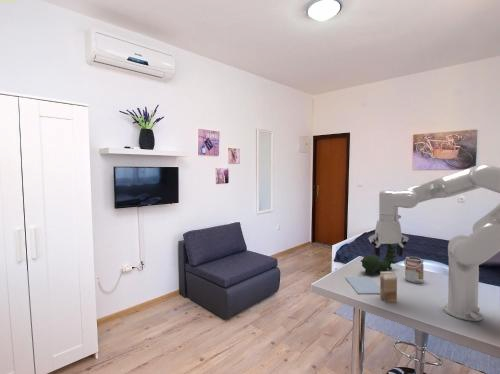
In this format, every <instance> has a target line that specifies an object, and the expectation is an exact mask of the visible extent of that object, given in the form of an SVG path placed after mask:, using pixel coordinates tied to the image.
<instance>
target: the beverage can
mask: <svg viewBox="0 0 500 374" xmlns="http://www.w3.org/2000/svg"><path fill="white" fill-rule="evenodd" d="M403 263H404V266H405V280H406V281H408V282H409V283H411V284H422V283H423V282H424V259H422V258H420V257H417V256H406V257H405V260H404V262H403Z"/></svg>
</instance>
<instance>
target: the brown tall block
mask: <svg viewBox="0 0 500 374" xmlns="http://www.w3.org/2000/svg"><path fill="white" fill-rule="evenodd" d="M379 274H380V280H379V281H380V286H379V287H380V294H379V295H380V299H381V300H382V301H384V302H385V303H397V302H398V301H397V300H398V292H397V291H398V275H397V274H396V273H394V272H393V271H388V272H384V271H383V272H380V273H379Z"/></svg>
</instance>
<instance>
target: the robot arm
mask: <svg viewBox="0 0 500 374" xmlns="http://www.w3.org/2000/svg"><path fill="white" fill-rule="evenodd" d="M481 188H483V189H485V190H488V191H491V192H493V193H498V194H500V167H498V166H496V165H495V166H494V165H490V164H479V165H478V164H477V165H475V166H472V167H468V168H465V169H462V170H460V171H457V172H456V171H455V172H454V173H450V174H447V175H445V176H441V177H438V178H435V179H433V180H431V181H429V182H428V181H427V182H424V183H422V184H419V185H415V186H412V187H409V188H407V189H403V190H401V191H397V190H387V189H385V190H380V191H379V194H378V204H379V206H378V210H379V211H378V216H379V217H378V220H377V221H376V223H375V224H376V225H375V233H374V234H373V235H370V236H368V238H367V239H368V240H369V242H370V244H371V245H372V246H373V247H374V250H373V251H374V256H376V257H377V258H379V257H381V255H380V254H381V248H380V246H381V245H383V244H385V245H386V244H393V245H395V244H396V245H397V246H396V256H399V257H403V248H405V246H406V244H407V243H408V241H409V239H410V237H408V236H407V235H404V234H403V233H402V228H401V223H400V221H399V219H402V216H401V215H399V208H403V209H413V208H415V207H416V206H418V204H420V203H423V202H425V201H426V202H427V201H431V200H434V199H445V198H450V197H453V196H454V197H455V196H457V195H460V194H465V193H467V192H471V191H474V190H477V189H481ZM402 238H403V240H402ZM374 240H375V241H374ZM499 252H500V202H499V204H497V205H496V206H495V207H494V208H493V209H492V210H490V211H489V212H488V213H486V214H485V215H484V216H482V217H481V218H479V219H478V220H477V221H475V223H474V224H473V225H472V233H470V234H469V235H464V234H459V235H455V236H453V237H451V239H450V240H449V241H448V245H447V253H448V254H447V255H448V281H447V282H448V283H447V285H448V290H447V291H448V292H447V297H448V298H447V300H448V301H447V303H444V305H443V310H444V312H445V313H447V314H448V315H450V316H452V317H454V318H457V319H460V320H463V321H464V320H465V321H468V322H471V321H472V322H478V321H482V320H483V319H484V318H485V316H484V315H483V313H482V312H481V309H480V307H479V279H480V276H479V275H480V271H479V270H480V268H479V266H480V265H483V264H484V263H485V262H486V261H488V260H489V259H491V258H492V257H494V256H495V255H497V254H498V253H499Z"/></svg>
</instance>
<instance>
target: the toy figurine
mask: <svg viewBox="0 0 500 374" xmlns="http://www.w3.org/2000/svg"><path fill="white" fill-rule="evenodd" d="M385 245H386V246H387V249H386V254H385V257H384V258H383V259H379V257H378V256H376V255H375V254H366V255H365V256H363V257H362V259H361V260H360V262H361V266H362V268H363V269H365V270H364V272H365V274H366V275H369V276H371V275H373V273H374V272H377V273H379V274H380V272H389V271H391V270H393V267H392V264H396V262H395V260H394V259H395V258H396V256H397V255H394V254H395V253H397V250H395V249H397V246H396V245H395V244H382V246H385ZM388 270H389V271H388Z"/></svg>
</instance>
